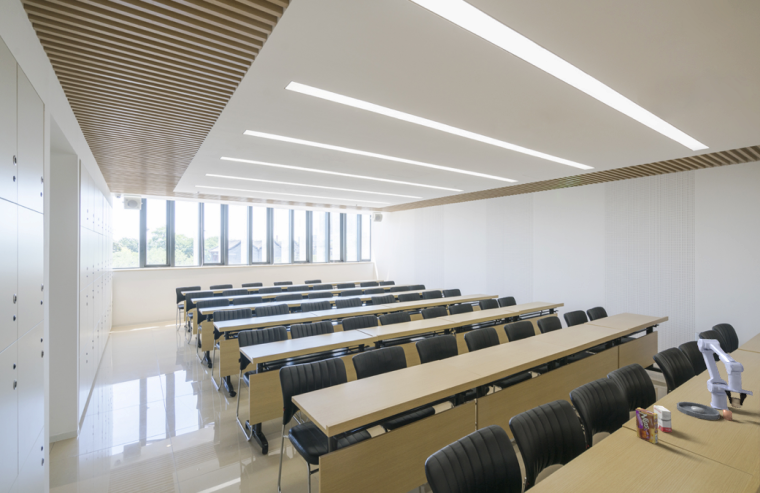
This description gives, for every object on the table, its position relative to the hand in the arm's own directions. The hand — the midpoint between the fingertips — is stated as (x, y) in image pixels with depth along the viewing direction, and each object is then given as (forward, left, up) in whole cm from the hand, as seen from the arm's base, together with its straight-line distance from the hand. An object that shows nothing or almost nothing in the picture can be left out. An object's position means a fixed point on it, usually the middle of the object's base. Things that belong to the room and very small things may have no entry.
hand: (735, 404), depth 211 cm
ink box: (+44, -36, -9) cm, 57 cm away
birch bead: (0, 0, -1) cm, 1 cm away
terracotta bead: (+5, -4, -8) cm, 11 cm away
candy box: (+64, -43, -9) cm, 78 cm away
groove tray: (+4, -18, -8) cm, 20 cm away
